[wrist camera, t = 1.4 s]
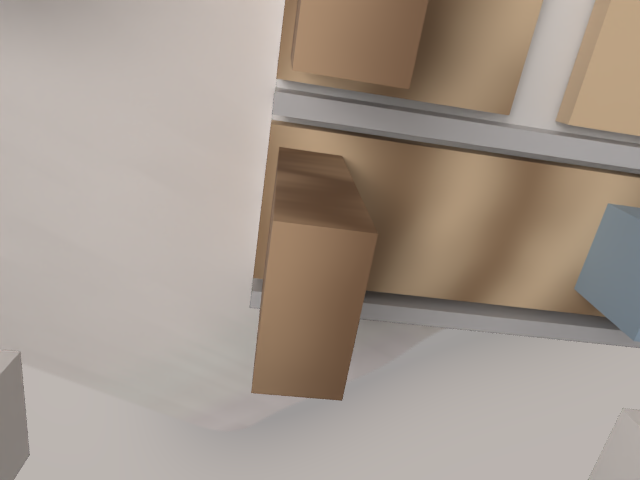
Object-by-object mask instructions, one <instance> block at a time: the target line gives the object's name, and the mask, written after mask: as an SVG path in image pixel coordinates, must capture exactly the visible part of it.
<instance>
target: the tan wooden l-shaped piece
mask: <svg viewBox="0 0 640 480" xmlns="http://www.w3.org/2000/svg"><path fill="white" fill-rule="evenodd" d="M608 203H609V204H616V205H623V206H631V207H638V208H640V174H634V173H627V172H621V171H614V170H607V169H600V168H594V167H587V166H580V165H573V164H567V163H560V162H553V161H546V160H540V159H533V158H526V157H519V156H513V155H506V154H499V153H492V152H486V151H479V150H472V149H466V148H459V147H452V146H445V145H439V144H432V143H425V142H418V141H412V140H405V139H398V138H391V137H385V136H378V135H371V134H364V133H358V132H351V131H344V130H337V129H331V128H324V127H317V126H311V125H304V124H297V123H290V122H284V121H277V120H272V121H271V128H270V137H269V146H268V154H267V163H266V172H265V180H264V189H263V197H262V206H261V215H260V223H259V232H258V240H257V249H256V258H255V266H254V275H253V278H258V279H263V285H262V295H261V304H260V314H259V324H258V333H257V343H256V353H255V362H254V372H253V382H252V391H251V393H257V394H269V395H281V396H294V397H306V398H318V399H330V400H342V399H343V394H344V389H345V385H346V380H347V375H348V371H349V366H350V361H351V357H352V352H353V348H354V343H355V338H356V334H357V329H358V324H359V320H360V315H361V311H362V306H363V301H364V297H365V292H366V290H367V291H376V292H385V293H394V294H403V295H412V296H421V297H430V298H439V299H448V300H457V301H466V302H476V303H485V304H494V305H503V306H512V307H521V308H530V309H539V310H548V311H557V312H566V313H575V314H584V315H594V316H603V317H605V316H604V315H603V314H602V313H601V312H600V311H599V310H597V309H596V308H595V307H594V306H593V305H592V304H591V303H589V302H588V301H587V300H586V299H585V298H584V297H583V296H581V295H580V294H579V293H578V292H577V291H576V290H575V289H574V288H575V285H576V283H577V280H578V277H579V275H580V272H581V270H582V267H583V265H584V262H585V260H586V257H587V255H588V252H589V250H590V247H591V245H592V242H593V240H594V237H595V235H596V232H597V230H598V227H599V225H600V222H601V220H602V217H603V215H604V212H605V210H606V207H607V205H608Z"/></svg>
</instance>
